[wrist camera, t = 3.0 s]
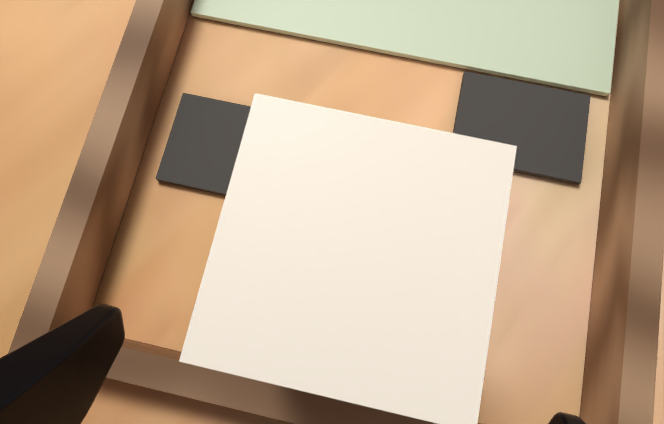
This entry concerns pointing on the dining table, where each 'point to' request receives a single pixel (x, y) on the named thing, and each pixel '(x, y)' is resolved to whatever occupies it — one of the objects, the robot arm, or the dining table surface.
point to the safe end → (453, 33)
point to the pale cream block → (356, 261)
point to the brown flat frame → (471, 120)
